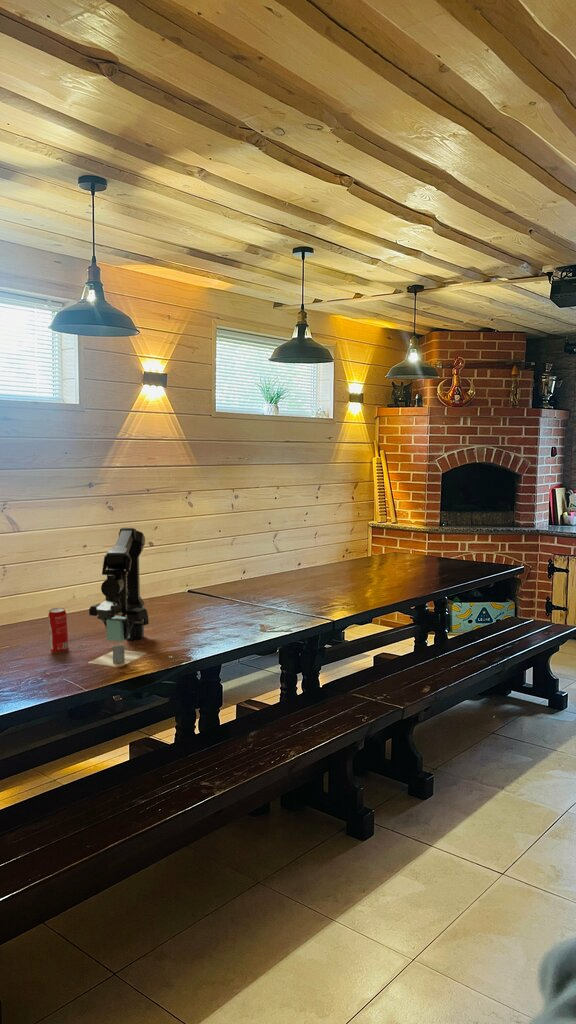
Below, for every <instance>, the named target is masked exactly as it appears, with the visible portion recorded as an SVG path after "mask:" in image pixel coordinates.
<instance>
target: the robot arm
mask: <svg viewBox="0 0 576 1024" xmlns="http://www.w3.org/2000/svg"><path fill="white" fill-rule="evenodd" d="M145 544H146V536H145V535H144V533H143V532H142V531H140V530H137V529H136V528H135V527H122V528H119V532H118V538H117V540H116V543H115V544H114V547H111V548H109V549H108V550H107V552H106V554H105V555H103V556H104V558H103V564H102V572H101V575H102V576H106V579H105V580H104V581H103V582H102V583H101V586H100V590H101V593H102V595H104V596H105V599H104V601H102V602H101V603H97V604H94V605H91V606H90V607H89V609H88V615H89V616H91V617H92V616H93V617H96V618H97V619H98V620H100V621H102V622H103V624H104V626H105V629H106V630H107V626H106V620H107V619H110V618H112V617H115V616H120V617H125V619H124V620H122V622H123V624H124V639H125V640H126V642H135V641H140V640H143V639H144V637H145V629H144V628H145V626H147V625H149V623H150V622H149V619H150V618H149V614H148V610H147V608H145V607H146V606H145V602H144V600H143V599H142V597H141V593H140V592H141V589H140V583H141V582H140V555H141V553H143V551H144V546H145ZM129 633H130V638H128V636H129ZM127 638H128V639H127ZM125 640H124V641H125Z"/></svg>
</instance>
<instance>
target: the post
mask: <svg viewBox="0 0 576 1024" xmlns="http://www.w3.org/2000/svg"><path fill="white" fill-rule="evenodd" d="M124 650H125V644H115V645H113V646H112V651H113V663H116V664H121V663H123V662H125V655H124Z"/></svg>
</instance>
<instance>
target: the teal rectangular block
mask: <svg viewBox="0 0 576 1024" xmlns="http://www.w3.org/2000/svg"><path fill="white" fill-rule="evenodd" d="M124 619H125V617H121V615H115V617H112V618H110V619H107V620H106V626H107V629H106V641H112V642H120V643H121V642H123V641H125V639H124V624H123V622H122V620H124ZM106 626H105V627H106ZM128 638H130V633H129V636H128ZM128 638H127V639H128Z"/></svg>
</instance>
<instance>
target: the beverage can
mask: <svg viewBox="0 0 576 1024" xmlns="http://www.w3.org/2000/svg"><path fill="white" fill-rule="evenodd" d="M48 611H49V612H48V615H47V616H48V628H49V644H50V652H51V653H52V654H54V653H57V652H66V651H67V650H69V637H68V635H69V634H68V622H67V621H68V620H67V617H68V616H67V612H66V609H65V608H63V607H55V608H54V607H53V608H51V609H49V610H48Z"/></svg>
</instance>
